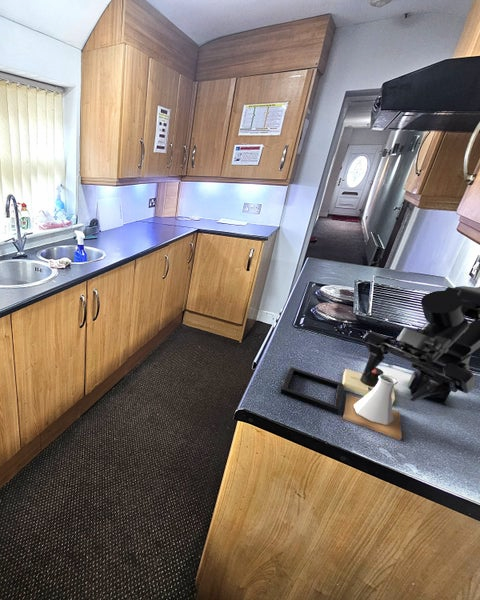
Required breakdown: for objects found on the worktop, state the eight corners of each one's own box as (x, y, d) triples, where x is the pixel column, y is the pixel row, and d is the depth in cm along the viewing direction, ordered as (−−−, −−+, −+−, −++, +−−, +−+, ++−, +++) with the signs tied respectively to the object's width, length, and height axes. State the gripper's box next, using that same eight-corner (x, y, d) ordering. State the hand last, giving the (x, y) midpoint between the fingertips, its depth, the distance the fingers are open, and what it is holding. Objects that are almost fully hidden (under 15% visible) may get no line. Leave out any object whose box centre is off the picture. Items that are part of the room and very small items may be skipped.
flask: (350, 414, 76) (365, 379, 72) (354, 398, 81) (368, 365, 77) (391, 430, 72) (410, 394, 68) (393, 413, 76) (410, 378, 72)
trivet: (398, 414, 77) (399, 411, 77) (400, 440, 70) (401, 437, 70) (345, 396, 83) (346, 393, 83) (342, 418, 76) (343, 416, 76)
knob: (360, 376, 87) (365, 363, 85) (377, 382, 85) (383, 368, 83) (359, 383, 85) (365, 369, 83) (377, 388, 82) (384, 375, 81)
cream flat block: (390, 389, 86) (393, 382, 85) (391, 405, 80) (395, 398, 79) (343, 374, 91) (345, 368, 90) (341, 388, 86) (344, 382, 85)
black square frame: (342, 388, 86) (344, 384, 85) (338, 415, 77) (340, 410, 76) (288, 370, 93) (289, 366, 92) (279, 393, 84) (281, 388, 84)
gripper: (381, 300, 77) (334, 349, 78) (496, 338, 61) (435, 399, 62) (390, 324, 82) (346, 369, 83) (497, 364, 66) (441, 420, 67)
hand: (386, 387), depth 74 cm, fingers open, 9 cm apart
